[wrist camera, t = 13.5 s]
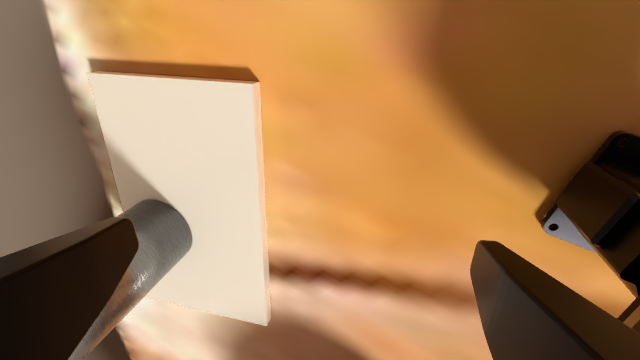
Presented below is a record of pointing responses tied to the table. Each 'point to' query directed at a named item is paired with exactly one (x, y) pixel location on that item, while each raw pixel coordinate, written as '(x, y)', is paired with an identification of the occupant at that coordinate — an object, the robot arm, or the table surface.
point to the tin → (142, 265)
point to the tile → (195, 180)
